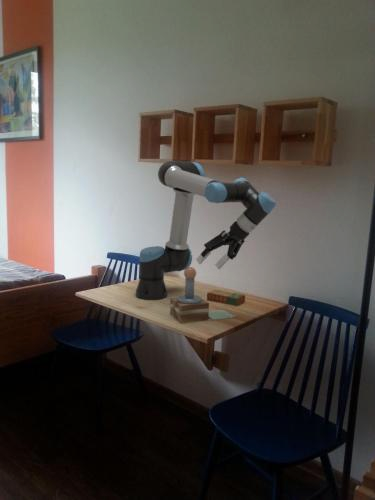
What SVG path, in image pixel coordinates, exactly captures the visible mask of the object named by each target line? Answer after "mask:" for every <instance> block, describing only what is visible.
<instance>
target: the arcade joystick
mask: <svg viewBox="0 0 375 500" xmlns="http://www.w3.org/2000/svg"><path fill="white" fill-rule="evenodd" d="M183 275H184V277H185V286H184V287H185V288H184V290H185V291H184V292H185V294H182V295H181V294H179V295H178V296H177V301H178V302H179V303H183V304H198V303H200V302H201V301H202V299H203V298H202V297H201V296H200V295H197V294H195V278H196V276H197V271H196V269H195V268H194V267H192V266H189V267H188V268H186V269H185V270H183Z"/></svg>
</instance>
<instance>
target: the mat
mask: <svg viewBox="0 0 375 500" xmlns="http://www.w3.org/2000/svg"><path fill="white" fill-rule="evenodd" d="M208 319H210V320H212V321H218V320H226V319H235V315H233V314H231V313H229V312H228V311H226V310H225V309H217V310H209V318H208Z"/></svg>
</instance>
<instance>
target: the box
mask: <svg viewBox="0 0 375 500" xmlns="http://www.w3.org/2000/svg"><path fill="white" fill-rule="evenodd" d="M177 297H178V296H177ZM177 297H176V296H175V297H170V302H169V307H170V308H169V314H170V315H171V316H172V317H173V318H174V319H175V320H176V321H178V323H180V324H186V323H194V322H195V323H196V322H203V321H204V322H205V321H209V319H210V318H209V311H210V303H209V302H208V301H207V300H205V299H204V298H202V301H201V302H200V303H198V304H183V303H179V302H178V301H177Z"/></svg>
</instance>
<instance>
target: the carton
mask: <svg viewBox="0 0 375 500" xmlns="http://www.w3.org/2000/svg"><path fill="white" fill-rule="evenodd" d="M206 301H207V302H208V301H209V302H212V303H213V302H214V303H219V304H224V305H228V306H232V307H233V306H234V307H239V306H241V305H243V304H245V303H246V295H245V294H241V293H237V292H231V291H227V290H220V289H213V290H211V291H209V292H206ZM244 302H245V303H244Z"/></svg>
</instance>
